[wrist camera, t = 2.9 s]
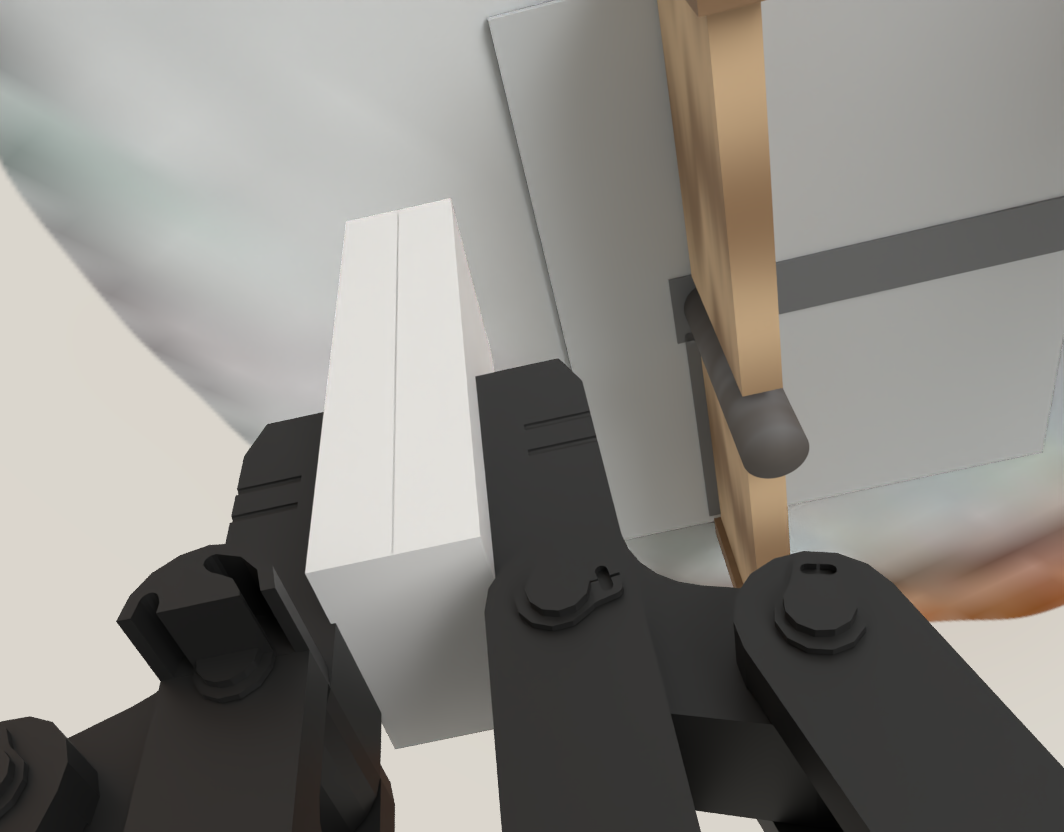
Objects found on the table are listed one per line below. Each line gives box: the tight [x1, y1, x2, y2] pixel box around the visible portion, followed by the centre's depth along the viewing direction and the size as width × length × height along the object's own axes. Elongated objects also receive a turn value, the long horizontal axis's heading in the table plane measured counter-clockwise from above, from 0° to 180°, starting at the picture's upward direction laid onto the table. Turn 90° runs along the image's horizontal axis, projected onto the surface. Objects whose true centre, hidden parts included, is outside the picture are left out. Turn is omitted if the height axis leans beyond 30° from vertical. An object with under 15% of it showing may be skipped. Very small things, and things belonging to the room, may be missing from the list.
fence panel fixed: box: [684, 288, 809, 588], centre depth 34 cm, size 13×2×8 cm, turn 13°
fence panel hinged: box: [657, 0, 783, 397], centre depth 26 cm, size 12×2×8 cm, turn 13°
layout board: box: [488, 0, 1064, 540], centre depth 33 cm, size 19×23×1 cm
